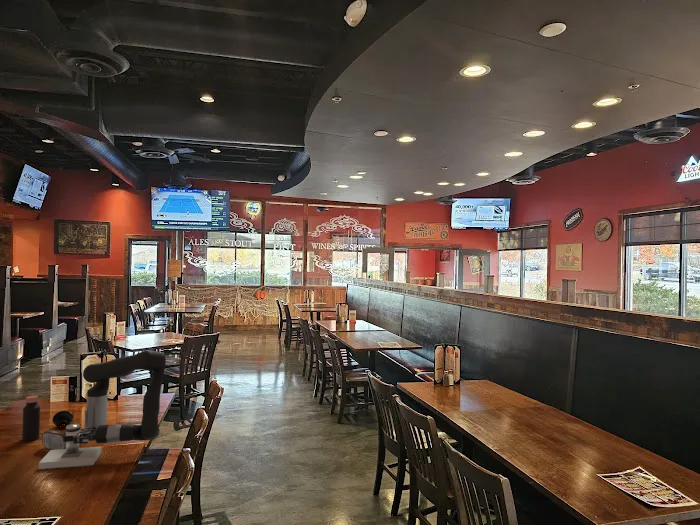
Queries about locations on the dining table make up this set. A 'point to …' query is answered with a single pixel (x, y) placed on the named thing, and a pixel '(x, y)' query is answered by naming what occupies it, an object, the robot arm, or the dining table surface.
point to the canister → (70, 446)
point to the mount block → (70, 458)
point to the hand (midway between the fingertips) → (65, 436)
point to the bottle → (31, 419)
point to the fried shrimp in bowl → (62, 418)
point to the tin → (53, 439)
